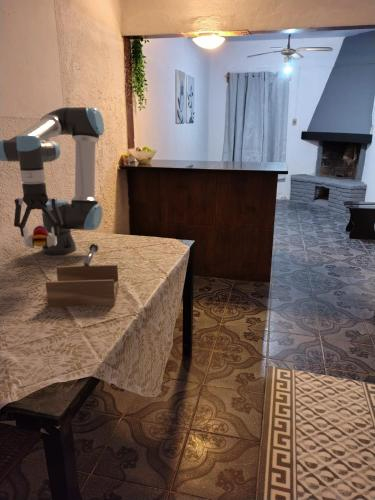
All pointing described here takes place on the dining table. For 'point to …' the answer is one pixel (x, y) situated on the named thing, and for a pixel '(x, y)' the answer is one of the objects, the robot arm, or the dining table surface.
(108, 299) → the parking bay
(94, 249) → the rod
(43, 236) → the rainbow disc toy
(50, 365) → the dining table surface
